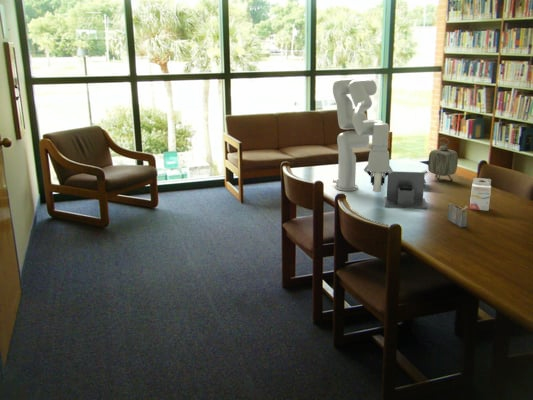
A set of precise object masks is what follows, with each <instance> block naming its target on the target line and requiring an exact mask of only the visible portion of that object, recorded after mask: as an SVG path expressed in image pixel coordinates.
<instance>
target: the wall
mask: <svg viewBox="0 0 533 400" xmlns="http://www.w3.org/2000/svg"><path fill="white" fill-rule="evenodd" d="M422 172H425V176H427V175H428V174H431V172H429V171H428V170H426V169H425V170H423V171H422ZM425 184H427V182H426V179H425V178H424V185H425Z"/></svg>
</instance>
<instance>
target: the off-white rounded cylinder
mask: <svg viewBox="0 0 533 400" xmlns="http://www.w3.org/2000/svg"><path fill="white" fill-rule="evenodd" d="M382 175H383V173H382V172H374V174H373V176H374V182H373V185H372V192H375V193H380V192H382V185H381V183H382Z"/></svg>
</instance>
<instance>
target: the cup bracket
mask: <svg viewBox="0 0 533 400" xmlns="http://www.w3.org/2000/svg"><path fill="white" fill-rule="evenodd" d="M425 176H426V175H425V172H423V171H421V172H419V171H397V170H396V171H394V170H393V172H392V173H390V174H388V175H387V180H386V181H387V182H386V183H387V184H386V196H384V199H383V200H384V208H398V209H401V208H402V209H418V210H419V209H420V210H421V209H423V210H427V208H428V206H427V201H426V199H425V198H424V191H425V190H424V189H425V188H424V187H425V184H424V179H425Z"/></svg>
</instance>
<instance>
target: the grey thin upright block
mask: <svg viewBox="0 0 533 400" xmlns="http://www.w3.org/2000/svg"><path fill="white" fill-rule="evenodd" d="M468 208H470V205H469V206H467V204H465V205H463V207H461V206H459V205H457V204H454V203H448V204H447V214H446V220H448V222H449V221H450V222H451V223H453V224H455V225H457V226H458V227H460V228H464V227H465V228H466V227H467V221H468V213H469V212H468V210H467V209H468Z"/></svg>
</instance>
